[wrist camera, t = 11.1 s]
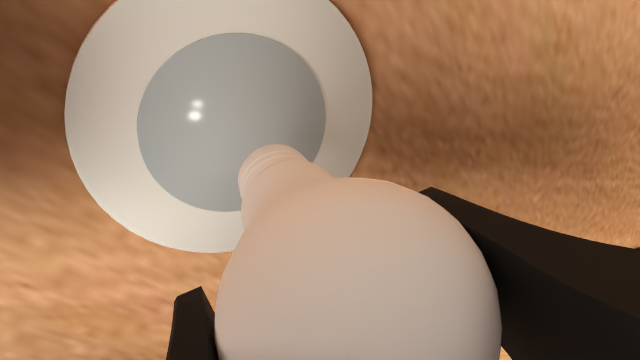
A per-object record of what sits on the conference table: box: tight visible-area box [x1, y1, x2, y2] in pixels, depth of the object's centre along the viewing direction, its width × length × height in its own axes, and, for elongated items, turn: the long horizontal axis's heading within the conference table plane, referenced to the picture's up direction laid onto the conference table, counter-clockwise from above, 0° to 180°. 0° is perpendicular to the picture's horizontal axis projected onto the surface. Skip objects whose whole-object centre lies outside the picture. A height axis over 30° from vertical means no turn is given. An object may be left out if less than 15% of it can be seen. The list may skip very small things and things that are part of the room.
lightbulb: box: [215, 144, 502, 360], centre depth 12 cm, size 6×6×11 cm
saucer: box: [64, 0, 372, 253], centre depth 20 cm, size 13×13×1 cm
